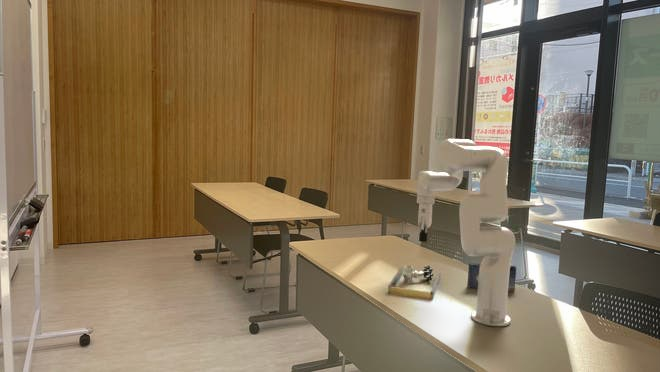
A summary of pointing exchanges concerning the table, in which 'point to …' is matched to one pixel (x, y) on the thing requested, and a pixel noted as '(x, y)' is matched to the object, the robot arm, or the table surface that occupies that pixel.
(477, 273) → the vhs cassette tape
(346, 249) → the table surface
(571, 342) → the table surface
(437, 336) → the table surface
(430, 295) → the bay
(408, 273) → the valve
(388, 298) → the table surface
